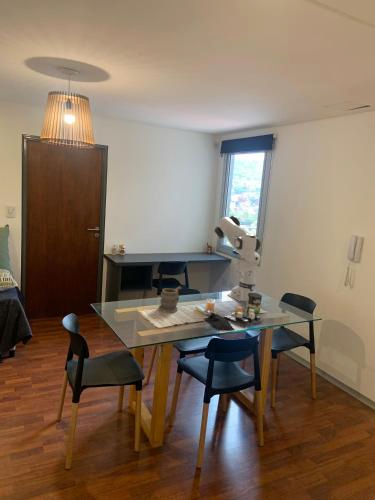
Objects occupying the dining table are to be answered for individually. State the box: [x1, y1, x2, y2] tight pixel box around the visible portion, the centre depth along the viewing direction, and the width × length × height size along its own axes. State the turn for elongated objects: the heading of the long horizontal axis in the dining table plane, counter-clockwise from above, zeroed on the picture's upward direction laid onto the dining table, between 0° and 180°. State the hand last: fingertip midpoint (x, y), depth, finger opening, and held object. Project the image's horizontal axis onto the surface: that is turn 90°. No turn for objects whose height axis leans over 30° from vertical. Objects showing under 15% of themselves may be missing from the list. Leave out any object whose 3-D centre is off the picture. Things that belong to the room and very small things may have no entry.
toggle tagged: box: [249, 312, 255, 319], centre depth 246 cm, size 3×2×3 cm
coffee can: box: [245, 292, 263, 316], centre depth 268 cm, size 10×10×14 cm
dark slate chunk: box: [204, 312, 235, 331], centre depth 241 cm, size 15×22×5 cm
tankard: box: [158, 285, 182, 314], centre depth 260 cm, size 20×13×15 cm, turn 143°
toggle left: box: [237, 312, 243, 318], centre depth 245 cm, size 3×2×3 cm
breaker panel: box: [224, 311, 263, 328], centre depth 251 cm, size 17×20×4 cm
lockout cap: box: [235, 306, 244, 315], centre depth 254 cm, size 4×4×6 cm
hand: (245, 277), depth 253 cm, fingers open, 8 cm apart
